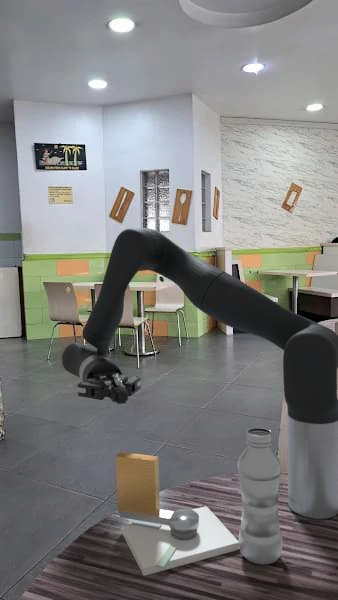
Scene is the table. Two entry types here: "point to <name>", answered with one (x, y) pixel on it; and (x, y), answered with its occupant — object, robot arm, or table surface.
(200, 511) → the base plate
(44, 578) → the table surface
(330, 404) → the robot arm
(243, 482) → the plastic bottle
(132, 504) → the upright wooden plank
